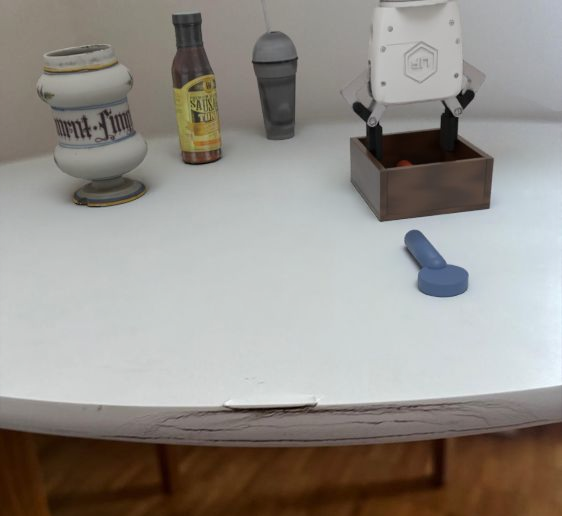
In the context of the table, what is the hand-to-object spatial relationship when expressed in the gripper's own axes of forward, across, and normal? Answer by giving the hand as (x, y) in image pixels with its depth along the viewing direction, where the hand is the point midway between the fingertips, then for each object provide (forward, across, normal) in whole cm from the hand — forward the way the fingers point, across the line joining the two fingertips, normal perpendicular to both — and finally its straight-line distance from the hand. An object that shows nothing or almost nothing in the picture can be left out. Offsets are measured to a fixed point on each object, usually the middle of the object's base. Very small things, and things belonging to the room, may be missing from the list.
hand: (411, 153), depth 83 cm
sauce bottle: (+4, -25, +25) cm, 36 cm away
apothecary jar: (+4, -38, +12) cm, 40 cm away
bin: (+4, 0, -2) cm, 5 cm away
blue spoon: (+4, -5, -24) cm, 25 cm away
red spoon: (+4, 0, -2) cm, 4 cm away
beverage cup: (+4, -12, +34) cm, 36 cm away
